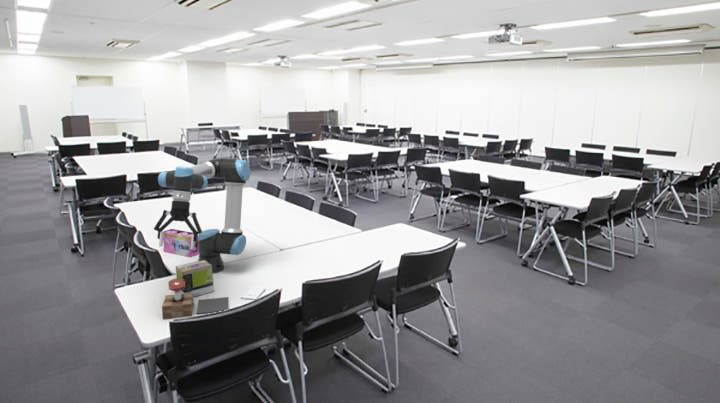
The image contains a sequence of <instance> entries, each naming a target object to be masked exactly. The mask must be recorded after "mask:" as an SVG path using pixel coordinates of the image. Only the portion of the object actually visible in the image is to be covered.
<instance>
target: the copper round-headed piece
mask: <svg viewBox="0 0 720 403" xmlns="http://www.w3.org/2000/svg"><path fill="white" fill-rule="evenodd" d="M184 288H185V280H184V279H181V278H177V277H176V278H173V279H170V280H169V281H168V290H169V291H171V292H172V291H173V295H174V300H175V302H182V298H181V290H182V289H184Z"/></svg>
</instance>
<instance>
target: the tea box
mask: <svg viewBox="0 0 720 403" xmlns="http://www.w3.org/2000/svg"><path fill="white" fill-rule="evenodd" d="M213 274H214V273H212V265H211V264H209V263H208V262H206V261H205V260H202V261H198V260H197V261H194V262H190V263H185V264H179V265H177V266H176V265H175V275H176V279H177V278H181V279H184V280H185V288H184V289H182V290H181V294H187V293H193V298H194V297H197V296H201V295H204V294H208V293H211V292H212V293H213V292H214V290H215V288H214V275H213Z"/></svg>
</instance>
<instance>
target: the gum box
mask: <svg viewBox="0 0 720 403" xmlns="http://www.w3.org/2000/svg"><path fill="white" fill-rule="evenodd" d="M162 232H164V237H163V252H164V253H168V254H174V255H177V254H178V256H183V257H187V258H192V256H193V257H195V256H197V255H198V256H199V245H198V235H199V234H198V235H197V241H196V242H194V249H191V239H192V234H194V233H193V232H192V231H185V230H180V229H175V228H170V229H167V230H163V231H162Z"/></svg>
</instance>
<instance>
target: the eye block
mask: <svg viewBox="0 0 720 403" xmlns="http://www.w3.org/2000/svg"><path fill="white" fill-rule="evenodd" d="M181 298H182V302H175V300H174V294H165V296H164V300H163V303H162V305H161V312H162V320H169V319H178V318H179V319H181V318H187V317H193V310H194V305H195V304H194V303H195V302H194V297H193V293H187V294H181Z"/></svg>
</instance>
